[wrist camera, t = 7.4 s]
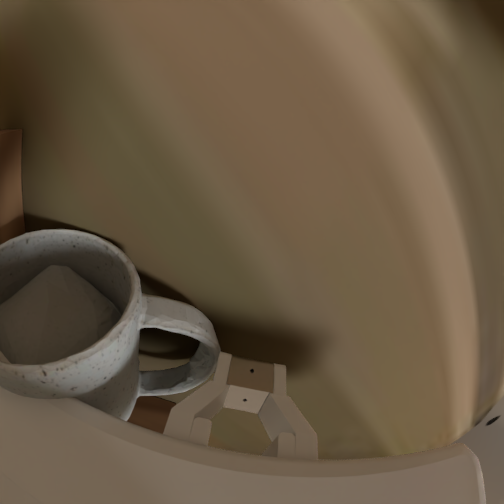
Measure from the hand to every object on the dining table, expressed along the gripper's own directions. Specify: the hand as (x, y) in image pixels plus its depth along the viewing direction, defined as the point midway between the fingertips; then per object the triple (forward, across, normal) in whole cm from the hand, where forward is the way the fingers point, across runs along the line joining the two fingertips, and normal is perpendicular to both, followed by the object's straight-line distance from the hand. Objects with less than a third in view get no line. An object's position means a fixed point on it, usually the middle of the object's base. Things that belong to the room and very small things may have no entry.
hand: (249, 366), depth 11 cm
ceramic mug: (+2, +7, 0) cm, 7 cm away
